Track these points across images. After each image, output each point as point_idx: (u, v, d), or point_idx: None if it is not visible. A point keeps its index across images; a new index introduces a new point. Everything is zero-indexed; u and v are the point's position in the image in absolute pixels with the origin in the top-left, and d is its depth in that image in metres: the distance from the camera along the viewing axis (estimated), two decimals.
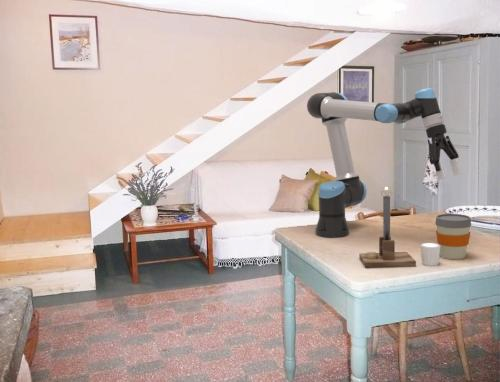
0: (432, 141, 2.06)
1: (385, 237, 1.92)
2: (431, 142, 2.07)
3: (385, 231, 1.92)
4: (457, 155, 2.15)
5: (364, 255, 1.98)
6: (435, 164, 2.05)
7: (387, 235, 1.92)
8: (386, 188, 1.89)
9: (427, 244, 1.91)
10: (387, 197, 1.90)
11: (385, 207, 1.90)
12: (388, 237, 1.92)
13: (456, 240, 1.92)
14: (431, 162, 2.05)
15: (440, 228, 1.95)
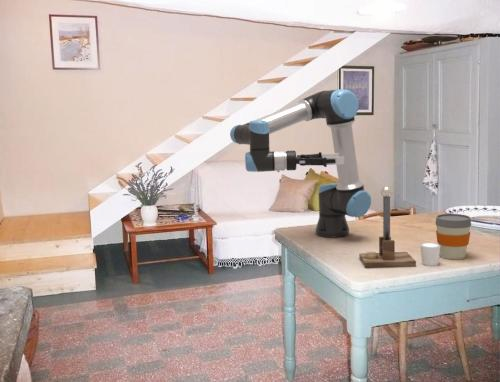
0: None
1: (385, 237, 1.92)
2: None
3: (385, 231, 1.92)
4: (324, 166, 1.93)
5: (364, 255, 1.98)
6: None
7: (387, 235, 1.92)
8: (386, 188, 1.89)
9: (427, 244, 1.91)
10: (387, 197, 1.90)
11: (385, 207, 1.90)
12: (388, 237, 1.92)
13: (456, 240, 1.92)
14: None
15: (440, 228, 1.95)
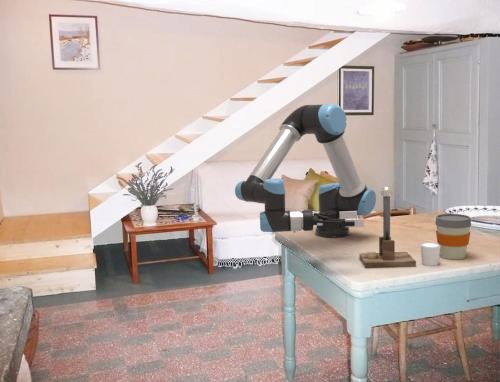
0: None
1: (385, 237, 1.92)
2: None
3: (385, 231, 1.92)
4: (342, 229, 1.85)
5: (364, 255, 1.98)
6: None
7: (387, 235, 1.92)
8: (386, 188, 1.89)
9: (427, 244, 1.91)
10: (387, 197, 1.90)
11: (385, 207, 1.90)
12: (388, 237, 1.92)
13: (456, 240, 1.92)
14: (336, 211, 2.02)
15: (440, 228, 1.95)
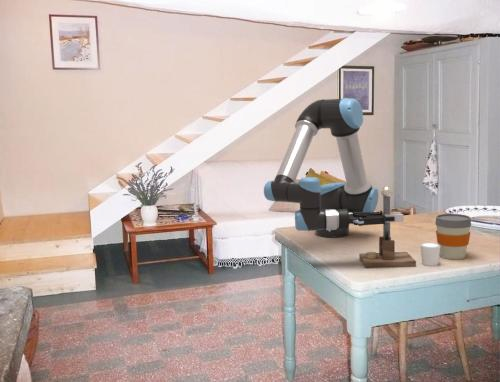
0: None
1: (385, 237, 1.92)
2: None
3: (385, 231, 1.92)
4: None
5: (364, 255, 1.98)
6: None
7: (387, 235, 1.92)
8: (386, 188, 1.89)
9: (427, 244, 1.91)
10: (387, 197, 1.90)
11: (385, 207, 1.90)
12: (388, 237, 1.92)
13: (456, 240, 1.92)
14: (379, 213, 1.96)
15: (440, 228, 1.95)
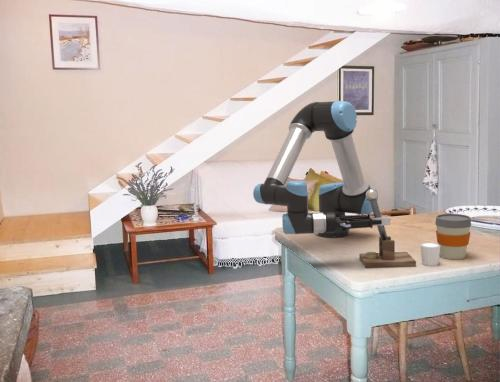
0: None
1: (382, 238, 1.92)
2: None
3: (380, 232, 1.92)
4: None
5: (364, 255, 1.98)
6: None
7: (384, 236, 1.92)
8: (370, 191, 1.89)
9: (427, 244, 1.91)
10: (373, 199, 1.90)
11: (374, 209, 1.91)
12: (385, 237, 1.92)
13: (456, 240, 1.92)
14: None
15: (440, 228, 1.95)
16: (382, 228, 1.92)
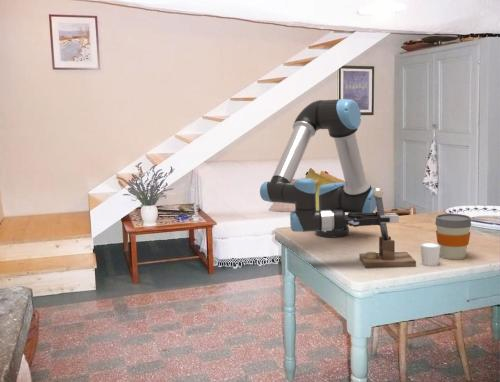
0: None
1: (383, 237, 1.92)
2: None
3: (382, 231, 1.92)
4: (379, 225, 1.89)
5: (364, 255, 1.98)
6: None
7: (385, 235, 1.92)
8: (376, 189, 1.89)
9: (427, 244, 1.91)
10: (379, 198, 1.90)
11: (378, 208, 1.91)
12: (386, 237, 1.92)
13: (456, 240, 1.92)
14: (374, 214, 1.97)
15: (440, 228, 1.95)
16: (384, 228, 1.92)
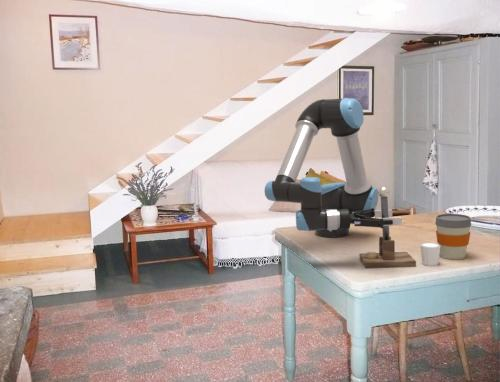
0: None
1: (384, 237, 1.92)
2: None
3: (384, 231, 1.92)
4: None
5: (364, 255, 1.98)
6: None
7: (386, 235, 1.92)
8: (383, 188, 1.89)
9: (427, 244, 1.91)
10: (384, 197, 1.90)
11: (383, 207, 1.90)
12: (387, 237, 1.92)
13: (456, 240, 1.92)
14: None
15: (440, 228, 1.95)
16: (387, 227, 1.91)
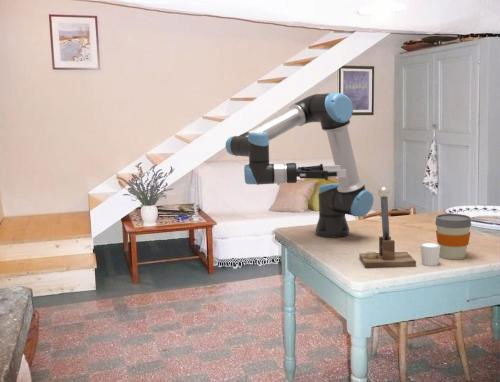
0: None
1: (384, 237, 1.92)
2: None
3: (384, 231, 1.92)
4: (325, 179, 1.88)
5: (364, 255, 1.98)
6: None
7: (386, 235, 1.92)
8: (383, 188, 1.89)
9: (427, 244, 1.91)
10: (384, 197, 1.90)
11: (383, 207, 1.90)
12: (387, 237, 1.92)
13: (456, 240, 1.92)
14: None
15: (440, 228, 1.95)
16: (387, 227, 1.91)
